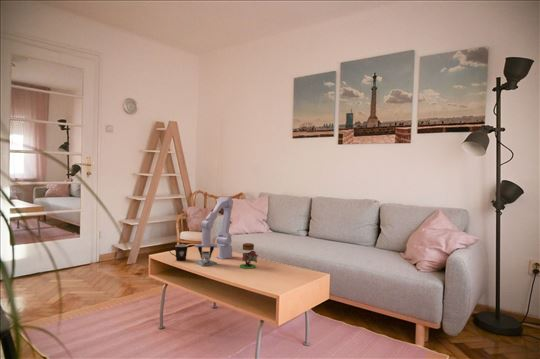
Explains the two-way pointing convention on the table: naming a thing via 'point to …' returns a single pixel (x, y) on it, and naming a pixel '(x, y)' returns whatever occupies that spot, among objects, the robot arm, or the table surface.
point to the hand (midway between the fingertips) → (205, 258)
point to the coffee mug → (180, 252)
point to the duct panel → (205, 264)
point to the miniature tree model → (249, 256)
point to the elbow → (205, 256)
